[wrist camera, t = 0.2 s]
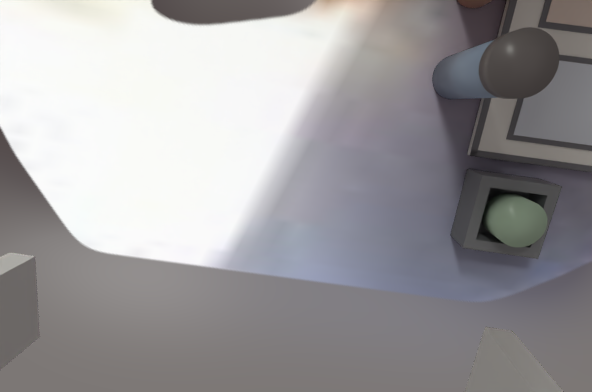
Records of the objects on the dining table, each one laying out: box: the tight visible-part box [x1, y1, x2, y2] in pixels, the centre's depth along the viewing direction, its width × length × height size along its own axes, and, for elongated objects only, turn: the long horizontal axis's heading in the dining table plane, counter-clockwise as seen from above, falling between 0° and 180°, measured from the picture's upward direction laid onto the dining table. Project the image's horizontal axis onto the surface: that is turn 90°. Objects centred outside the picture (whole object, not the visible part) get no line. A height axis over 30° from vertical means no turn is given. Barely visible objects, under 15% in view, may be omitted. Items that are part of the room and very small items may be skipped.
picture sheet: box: [467, 0, 592, 172], centre depth 32 cm, size 22×16×1 cm
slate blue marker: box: [432, 27, 559, 99], centre depth 28 cm, size 4×4×12 cm
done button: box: [482, 193, 547, 247], centre depth 33 cm, size 4×4×3 cm
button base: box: [451, 169, 562, 259], centre depth 35 cm, size 7×7×3 cm
